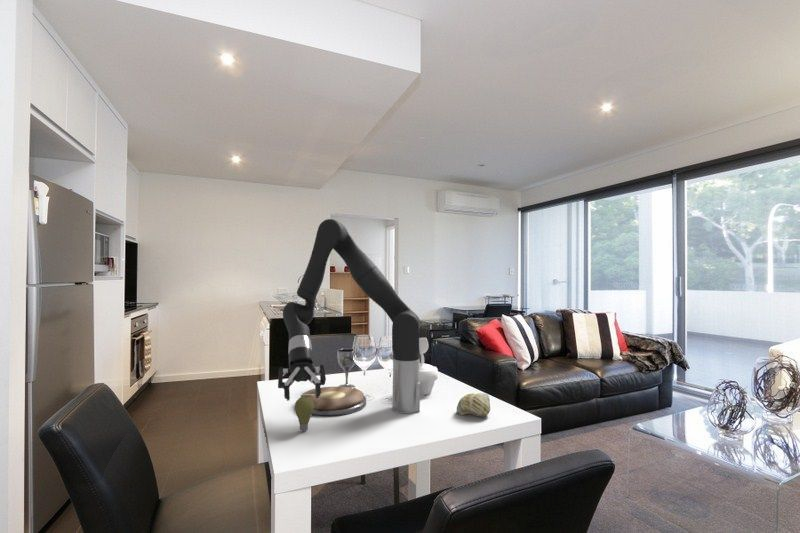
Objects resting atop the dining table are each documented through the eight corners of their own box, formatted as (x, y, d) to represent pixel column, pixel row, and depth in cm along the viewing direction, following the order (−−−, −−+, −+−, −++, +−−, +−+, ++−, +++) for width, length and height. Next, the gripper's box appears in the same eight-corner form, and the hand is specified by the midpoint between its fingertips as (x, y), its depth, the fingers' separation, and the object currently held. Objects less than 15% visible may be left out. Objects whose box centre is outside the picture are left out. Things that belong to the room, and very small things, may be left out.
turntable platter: (366, 390, 146) (366, 386, 146) (360, 410, 124) (360, 405, 124) (308, 390, 146) (308, 385, 146) (292, 409, 124) (292, 404, 124)
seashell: (449, 410, 128) (460, 381, 131) (471, 420, 131) (481, 392, 134) (466, 418, 119) (477, 388, 121) (489, 429, 122) (500, 399, 125)
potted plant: (436, 398, 143) (437, 331, 144) (405, 396, 145) (406, 330, 145) (438, 388, 155) (439, 327, 156) (410, 387, 157) (410, 326, 158)
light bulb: (315, 427, 114) (315, 393, 114) (311, 435, 108) (312, 399, 108) (296, 427, 114) (297, 393, 114) (291, 435, 108) (292, 399, 108)
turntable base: (368, 394, 147) (368, 390, 147) (362, 416, 123) (362, 412, 123) (306, 393, 147) (306, 389, 147) (288, 416, 123) (288, 411, 123)
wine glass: (335, 384, 159) (336, 348, 160) (354, 383, 162) (354, 347, 162) (338, 390, 152) (338, 352, 152) (358, 388, 154) (358, 351, 155)
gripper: (278, 346, 120) (278, 393, 109) (323, 344, 125) (328, 389, 114) (277, 360, 125) (277, 406, 114) (321, 357, 130) (325, 402, 119)
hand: (303, 398), depth 114 cm, fingers open, 8 cm apart
